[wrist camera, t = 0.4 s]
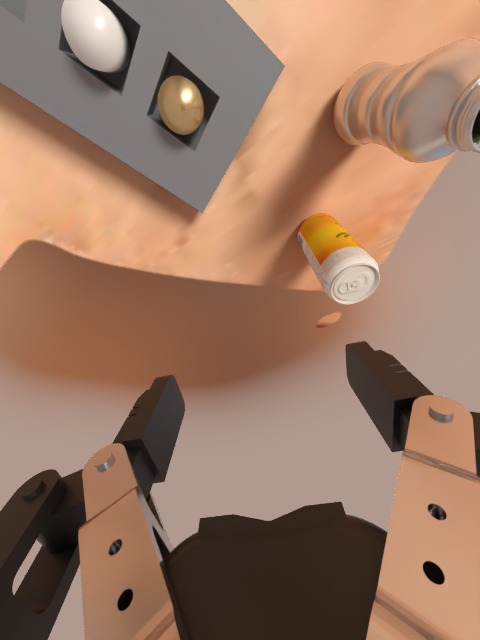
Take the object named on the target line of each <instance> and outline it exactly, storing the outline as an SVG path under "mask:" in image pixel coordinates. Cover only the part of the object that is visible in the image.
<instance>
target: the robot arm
mask: <svg viewBox="0 0 480 640" xmlns="http://www.w3.org/2000/svg"><path fill="white" fill-rule="evenodd" d="M346 365H347V366H346V368H347V377H348V381H349V384H350V386H351V388H352V389H353V391H354V392H355V394H356V395H357V397H358V399H359V400H360V402H361V404H362V405H363V407H364V408H365V410H366V411H367V413H368V415H369V416H370V418H371V419H372V421H373V423H374V424H375V426H376V427H377V429H378V431H379V432H380V434H381V435H382V437H383V438H384V440H385V442H386V443H387V445H388V447H389V448H390V450H391V451H392V452H396V451H403V453H402V458H401V463H400V468H399V475H398V479H397V484H396V490H395V495H394V501H393V506H392V511H391V517H390V522H389V528H388V532H386V531H385V530H383V529H382V528H380V527H378V526H376V525H375V524H373V523H370V522H368V521H366V520H364V519H361V518H358V517H355V516H350V515H346V514H345V511H344V508H343V505H342V503H341V502H335V503H326V504H318V505H309V506H304V507H302V508H299V509H297V510H295V511H293V512H291V513H288V514H286V515H283V516H281V517H279V518H277V519H274V520H272V521H264V520H259V519H254V518H249V517H244V516H239V515H234V514H233V515H224V516H216V517H207V518H200V523H199V530H198V532H197V533H195V534H193V535H192V536H190V537H189V538H187V539H185V540H184V541H183V542H181V543H180V544H179V545H178V546H177V547H176V548H175V549H174V548H173V546H172V544H171V542H170V540H169V537H168V535H167V533H166V530H165V527H164V525H163V522H162V519H161V517H160V514H159V512H158V509H157V507H156V504H155V501H154V499H153V496H152V494H151V492H150V490H151V487H152V484H153V483H159V482H164V481H165V477H166V474H167V470H168V467H169V463H170V460H171V457H172V454H173V450H174V447H175V443H176V440H177V437H178V433H179V429H180V426H181V423H182V420H183V416H184V412H185V404H184V400H183V397H182V394H181V392H180V389H179V387H178V384H177V382H176V379H175V377H174V376H173V375H169V376H163V377H158V378H156V379H155V380H154V382H153V384H152V386H151V388H150V389H149V390H146V391H145V392H144V393H143V394H142V395H141V396H140V397H139V398H138V400H137V401H136V403H135V405H134V406H133V409H132V410H131V412H130V414H129V417H127V419H126V421H125V422H124V424H123V426H122V428H121V429H120V431H119V433H118V435H117V436H116V438H115V440H114V442H113V444H110V445H108V446H106V447H103V448H102V449H100V450H99V451H97V452H96V453H95V454H94V455H93V456H92V457H91V458H90V459H89V460H88V462H87V463H86V464H85V466H84V468H83V469H82V470H79V471H77V472H75V473H72V474H70V475H68V476H65V477H63V478H62V477H61V476H60V475H59V473H58V472H57V471H56V470H46V471H43V472H41V473H39V474H37V475H35V476H33V477H32V478H30V479H29V480H28V481H26V482H25V483H24V484H23V485H22V486H21V487H20V488H19V489H18V490H17V491H16V492H15V493H14V495H13V496H12V497H11V499H10V500H9V501H8V502H7V504H6V505H5V506H4V507H3V509H2V510H1V511H0V640H47V639H48V637H49V635H50V633H51V630H52V628H53V626H54V623H55V621H56V619H57V616H58V614H59V612H60V609H61V607H62V604H63V602H64V600H65V598H66V595H67V593H68V590H69V588H70V586H71V583H72V581H73V579H74V576H75V574H76V572H77V569H78V567H79V565H80V569H81V583H82V584H81V585H82V600H83V616H84V632H85V640H480V413H476V412H469V411H468V410H467V409H466V408H465V407H464V406H463V405H461V404H459V403H458V402H456V401H454V400H451V399H448V398H446V397H442V396H435V395H434V394H433V393H431V392H430V391H429V390H428V389H427V388H426V387H425V386H424V385H423V384H422V383H421V382H420V381H419V380H418V379H417V378H416V377H415V376H413V375H412V374H411V373H410V372H408V370H407V369H406V368H405V367H404V366H403V365H401V363H400V362H399V361H398V360H396V359H395V358H394V357H393V356H392V355H390V354H388V353H386V352H384V351H381V350H378V351H374V350H373V349H372V348H371V347H370V346H369V344H368V343H367V342H365V341H362V342H357V343H351V344H347V345H346ZM36 539H37V540H38V541H39V542H40V543H41V544H42V547H41V549H40V551H39V553H38V554H37V556H36V558H35V560H34V561H33V563H32V565H31V567H30V568H29V570H28V572H27V574H26V575H25V577H24V579H23V581H22V583H21V585H20V586H19V588H18V590H17V591H16V593H15V595H13V592H12V585H13V581H14V578H15V575H16V573H17V571H18V569H19V568H20V566H21V564H22V563H23V561H24V559H25V558H26V556H27V554H28V553H29V551H30V549H31V548H32V546H33V544H34V543H35V541H36Z"/></svg>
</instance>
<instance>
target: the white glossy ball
mask: <svg viewBox="0 0 480 640" xmlns="http://www.w3.org/2000/svg"><path fill="white" fill-rule="evenodd" d="M61 21H62V27H63V31H64V34H65V37H66V40H67V42H68V44H69V46H70V47H71V49H72V51H73V52H74V54H75V55H76V56H77V57H78V58H79V59H80V60H81V61H82V62H83V63H84V64H85V65H87V66H88V67H90V68H92V69H95V70H99V71H103V72H107V73H111V74H117V73H120V72H122V71H123V70H124V69H125V68H126V67H127V65H128V63H129V59H130V42H129V38H128V35H127V32H126V30H125V27H124V25H123V24H122V22H121V21H120V19H119V18H118V17H117V15H116V14H115V13H114V12H113V11H111V10H110V9H109V8H108V7H107V6H105V5H104V4H103V3H102V2H100V1H99V0H64V2H63V5H62V10H61Z"/></svg>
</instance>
